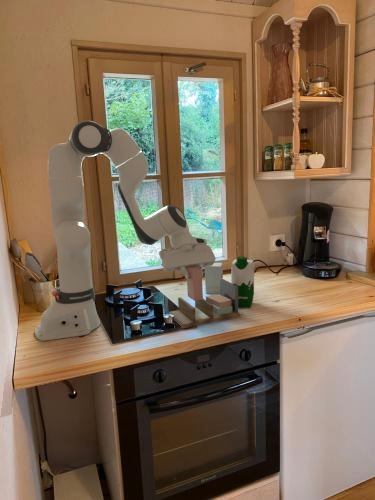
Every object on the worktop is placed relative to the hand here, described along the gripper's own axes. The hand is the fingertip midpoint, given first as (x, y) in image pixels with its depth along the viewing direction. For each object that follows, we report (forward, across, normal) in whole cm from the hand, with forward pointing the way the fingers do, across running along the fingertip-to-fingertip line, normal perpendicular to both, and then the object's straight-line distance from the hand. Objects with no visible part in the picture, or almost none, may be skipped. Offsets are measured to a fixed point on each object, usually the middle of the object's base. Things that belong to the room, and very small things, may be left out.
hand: (195, 277), depth 138 cm
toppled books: (+10, +10, +11) cm, 17 cm away
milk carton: (+8, +22, +15) cm, 28 cm away
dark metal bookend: (+10, +14, +11) cm, 20 cm away
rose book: (+5, 0, +6) cm, 8 cm away
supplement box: (-7, +20, +30) cm, 37 cm away
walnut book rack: (+11, +3, +12) cm, 16 cm away
